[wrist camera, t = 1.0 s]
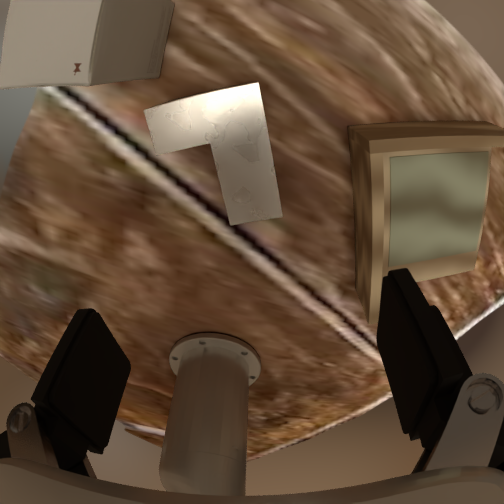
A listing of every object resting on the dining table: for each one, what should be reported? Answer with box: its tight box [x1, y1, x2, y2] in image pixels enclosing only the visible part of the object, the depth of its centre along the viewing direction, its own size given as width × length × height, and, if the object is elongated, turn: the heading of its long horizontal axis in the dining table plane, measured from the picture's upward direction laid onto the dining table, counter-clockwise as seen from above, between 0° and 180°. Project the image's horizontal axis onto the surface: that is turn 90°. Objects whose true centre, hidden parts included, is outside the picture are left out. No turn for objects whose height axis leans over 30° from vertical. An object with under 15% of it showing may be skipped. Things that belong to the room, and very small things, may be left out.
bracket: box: [144, 81, 283, 225], centre depth 24 cm, size 10×8×6 cm
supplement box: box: [0, 0, 174, 89], centre depth 16 cm, size 7×7×13 cm
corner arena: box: [347, 121, 504, 324], centre depth 27 cm, size 18×16×6 cm
